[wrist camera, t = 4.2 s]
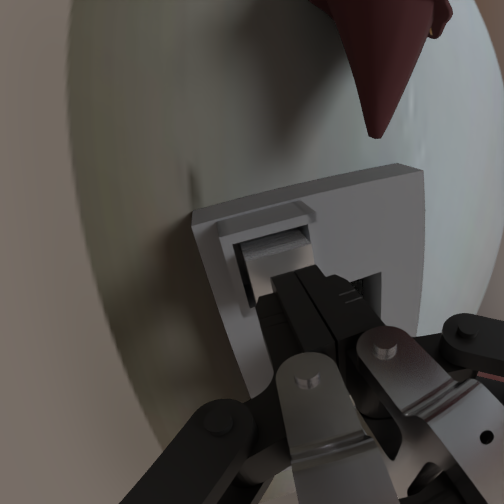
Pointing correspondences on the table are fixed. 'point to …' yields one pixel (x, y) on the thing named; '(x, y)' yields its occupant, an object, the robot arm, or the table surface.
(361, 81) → the icecream
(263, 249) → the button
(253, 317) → the housing
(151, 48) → the table surface
